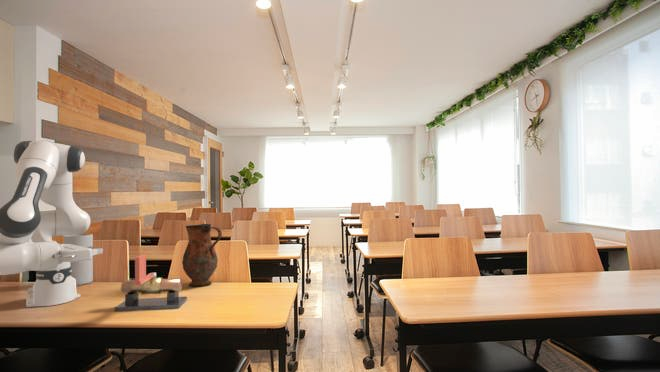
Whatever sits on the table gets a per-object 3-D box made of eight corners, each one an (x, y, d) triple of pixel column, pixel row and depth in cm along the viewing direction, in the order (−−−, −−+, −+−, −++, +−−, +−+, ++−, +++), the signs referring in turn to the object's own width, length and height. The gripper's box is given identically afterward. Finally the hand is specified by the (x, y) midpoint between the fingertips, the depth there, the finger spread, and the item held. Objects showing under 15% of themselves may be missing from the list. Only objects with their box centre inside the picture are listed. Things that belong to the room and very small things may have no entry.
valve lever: (150, 276, 147) (150, 250, 147) (157, 276, 147) (157, 250, 148) (133, 286, 131) (133, 257, 131) (141, 286, 132) (141, 257, 132)
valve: (114, 311, 139) (114, 282, 139) (127, 302, 150) (127, 275, 150) (178, 308, 141) (178, 280, 142) (186, 300, 152) (186, 273, 153)
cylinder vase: (91, 279, 193) (91, 233, 193) (94, 283, 183) (93, 234, 184) (62, 283, 185) (62, 234, 186) (63, 288, 175) (63, 237, 176)
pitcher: (197, 279, 189) (197, 222, 190) (231, 282, 182) (231, 223, 182) (174, 287, 174) (173, 225, 174) (209, 291, 166) (209, 226, 167)
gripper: (58, 247, 108) (109, 242, 119) (40, 243, 120) (87, 238, 131) (58, 268, 108) (109, 261, 118) (40, 261, 120) (87, 256, 131)
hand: (97, 249), depth 125 cm, fingers open, 7 cm apart
